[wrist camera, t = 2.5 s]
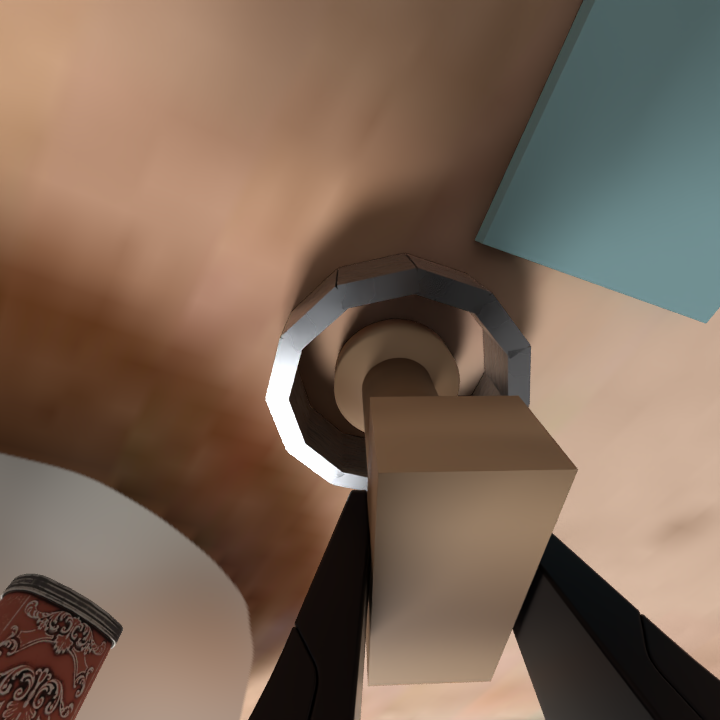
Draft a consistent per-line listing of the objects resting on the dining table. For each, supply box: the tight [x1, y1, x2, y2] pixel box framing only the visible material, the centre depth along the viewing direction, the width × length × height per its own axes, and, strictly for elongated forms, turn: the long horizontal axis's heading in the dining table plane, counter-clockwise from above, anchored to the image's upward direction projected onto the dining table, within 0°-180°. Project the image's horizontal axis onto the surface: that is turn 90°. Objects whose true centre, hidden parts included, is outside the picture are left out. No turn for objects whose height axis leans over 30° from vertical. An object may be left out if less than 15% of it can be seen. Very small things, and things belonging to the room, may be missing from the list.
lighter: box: [0, 574, 123, 720], centre depth 18 cm, size 8×3×10 cm, turn 24°
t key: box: [334, 319, 578, 686], centre depth 11 cm, size 7×5×9 cm
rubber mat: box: [475, 0, 720, 323], centre depth 11 cm, size 10×10×1 cm
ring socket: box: [266, 253, 531, 491], centre depth 14 cm, size 10×10×2 cm
